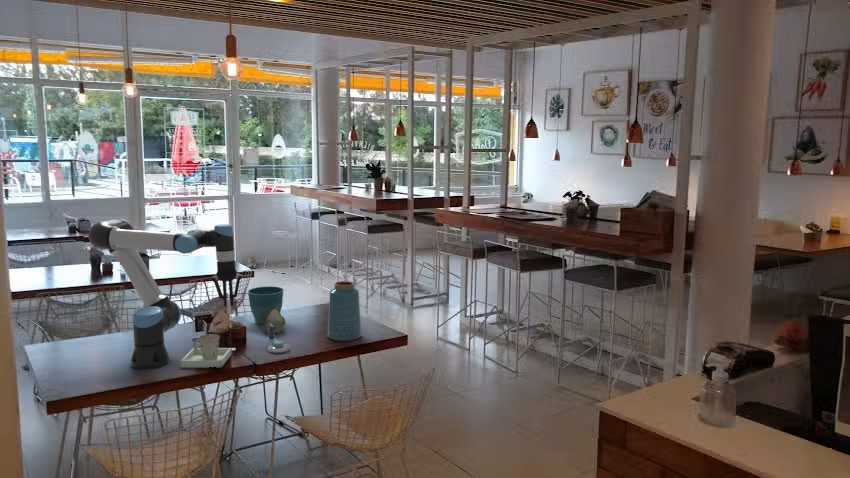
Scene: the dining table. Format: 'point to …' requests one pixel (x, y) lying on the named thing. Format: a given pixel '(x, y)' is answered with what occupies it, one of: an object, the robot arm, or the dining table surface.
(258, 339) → the dining table surface
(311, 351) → the dining table surface
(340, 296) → the vase
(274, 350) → the pedestal
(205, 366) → the tray
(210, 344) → the mug
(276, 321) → the fruit
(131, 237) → the robot arm
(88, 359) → the dining table surface
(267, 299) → the flower pot
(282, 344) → the crank
